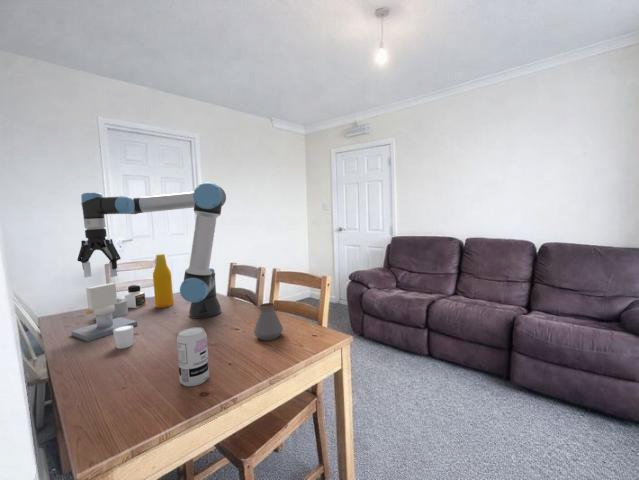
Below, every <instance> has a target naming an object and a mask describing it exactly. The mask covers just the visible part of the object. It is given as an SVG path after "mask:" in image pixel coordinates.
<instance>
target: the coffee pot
mask: <svg viewBox="0 0 639 480" xmlns="http://www.w3.org/2000/svg"><path fill="white" fill-rule="evenodd" d="M243 299H248V301H250V303H251V304H253V305H254V306H255V307H256V308H257V309H259V311H260V313H259V315H258V318H257V321H256V324H255V326H254V330H253V333H254V335H255V336H256V337H257V338H259V340H261V341H273V340H276V339H278V338H279V336H281V334H282V332H283V330H284V327H283V325H282V322H280V319H279V318H278V316H277V313H276V311H275V307H276V304H275V303H274V302H265V303H261V304H258V303H257V302H256V301H255V300H254V299H253V298H252V297H250V296H249V295H248V294H245V295H244V297H243Z"/></svg>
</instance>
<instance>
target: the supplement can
mask: <svg viewBox="0 0 639 480" xmlns="http://www.w3.org/2000/svg"><path fill="white" fill-rule="evenodd" d="M175 341H176V349H177V361H178V364H177V365H178V373H179V382H180V384H181V385H183V386H185V387H195V386H199V385H201V384H204V383H205V382H206V381H207V380H208V379H209V378H210V365H209V351H208V336H207V333H206V331H205V329H204V328H203V327H200V326H195V327H188V328H184V329H182V330H180V331H179V332H178V334H177V338H176V340H175Z"/></svg>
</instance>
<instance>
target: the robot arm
mask: <svg viewBox="0 0 639 480" xmlns="http://www.w3.org/2000/svg"><path fill="white" fill-rule="evenodd" d="M80 196H81V203H80V204H81V209H82V216H83V225H84V226H83V227H84V229H85V230H84V233H85V240H84V239H83V240H81V241H80V242H81V244H80V249H79V253H78V256H77V259H76V260H77V262H80V263H81V264H82V265H81V266H82V270H83V274H84V275H83V276H84V278H88V277H92V269H91V268H92V267H91V261H90V259H91V257H92V255H93V254H94V252H95V251H101V252H102V253H103V254H104V255H105V257H106V258H107V259H108V261H109V262H108V266H109V267H108V268H109V276H110V278H113V277H118V271H117V269H118V264H117V263H118V261H120V260H121V259H122V257H121V256H120V254H119V252H118V250H117V249H116V246H115V244H114V242H113V239H112V238H108V239H107V238H106V237H107V229H106V219H105V218H106V217H105V215H137V214H144V213H153V212H162V211H172V210H174V211H175V210H184V209H193V212H194V213H195V215H196V217H195V218H196V219H195V225H194V230H193V231H194V232H193V239H192V244H191V245H192V246H191V254H190V260H189V266H188V267H187V268H186V269H185V271H184V276H183V281H182V282H181V284H180V286H179V293H180V296H181V297H182V299H184V301H186V302H188V303H190V307H189V308H190V309H189V311H188V314H189V318H192V319H205V318H210V317H214V316H217V315H220V314H221V312H222V307H221V305H220V302H219V300H218V298H217V286H216V285H217V284H216V272H215V269H214V268H210V266H211V265H210V264H211V258H212V252H213V245H214V238H215V232H216V224H217V219H218V217H219V216H221V214H222V213H221V212H222V207H223V206H224V204H225V203H226V200H227V194H226V192H225V190H224V189H223V188H222V187H220V185H217V184H216V183H213V182H203V183H200V184H198V185H197V186H196V187H195V189H194V190H193V191H191V192H189V191H188V192H181V193H172V194H171V193H170V194H169V193H168V194H160V195H158V194H157V195H148V196H141V197H140V196H139V197H137V196H136V197H131V196H128V195H127V196H125V195H124V196H123V195H120V196H107V197H106V196H103V194H102V193H101V192H84V193H82V194H81V195H80Z"/></svg>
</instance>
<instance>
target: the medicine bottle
mask: <svg viewBox="0 0 639 480" xmlns="http://www.w3.org/2000/svg"><path fill="white" fill-rule="evenodd" d="M141 289H142V288H141V285H140V284H132V285H129V286H128V287H127V292H128V294H126V295H124V299H126V300H127V305H128V309H138V308H140V307H143V306H145V305H146V293H145V292H141Z"/></svg>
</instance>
